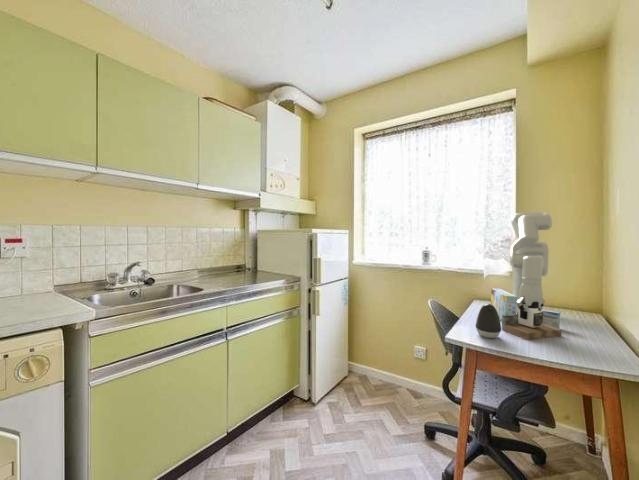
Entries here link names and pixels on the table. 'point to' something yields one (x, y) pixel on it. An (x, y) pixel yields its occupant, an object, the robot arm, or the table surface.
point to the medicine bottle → (532, 316)
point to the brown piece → (528, 329)
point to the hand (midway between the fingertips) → (530, 317)
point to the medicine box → (551, 318)
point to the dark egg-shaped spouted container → (488, 322)
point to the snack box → (503, 302)
